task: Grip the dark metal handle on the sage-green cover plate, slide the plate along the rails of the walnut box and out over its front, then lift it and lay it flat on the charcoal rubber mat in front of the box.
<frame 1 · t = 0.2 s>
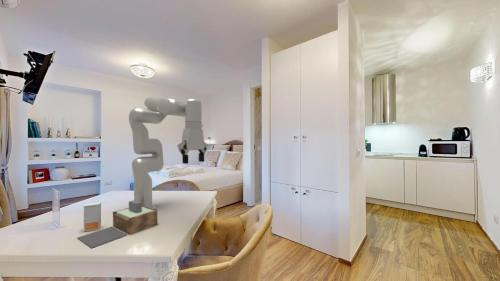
hand: (193, 162, 97), 31 cm above the table, tool pointing down, fingers open, 9 cm apart
skincare box: (92, 229, 97), on the table
walnut box: (135, 225, 101), on the table
rubber mat: (102, 236, 89), on the table
cover plate: (135, 213, 101), point 6 cm above the table, touching walnut box
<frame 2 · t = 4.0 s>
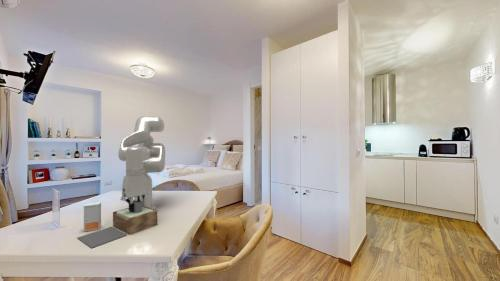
hand: (135, 210, 101), 7 cm above the table, tool pointing down, fingers closed on cover plate, 2 cm apart
cover plate: (135, 213, 101), point 6 cm above the table, touching gripper
everything else where it was.
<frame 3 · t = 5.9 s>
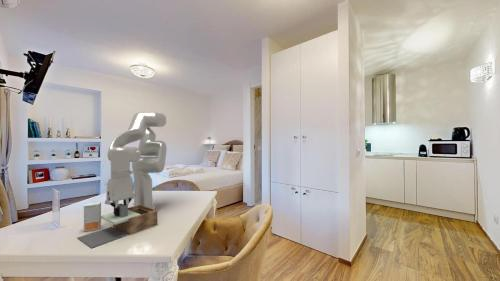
hand: (121, 214, 95), 7 cm above the table, tool pointing down, fingers closed on cover plate, 2 cm apart
cover plate: (121, 217, 95), point 6 cm above the table, touching gripper, walnut box
everything else where it was.
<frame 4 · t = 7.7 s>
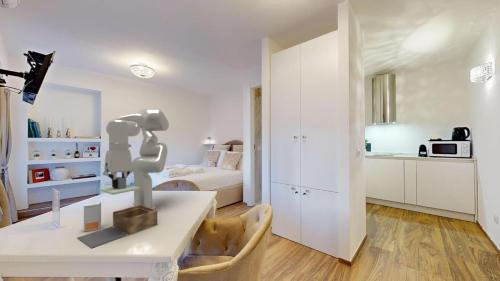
hand: (119, 187, 95), 20 cm above the table, tool pointing down, fingers closed on cover plate, 2 cm apart
cover plate: (119, 190, 95), point 19 cm above the table, touching gripper
everything else where it was.
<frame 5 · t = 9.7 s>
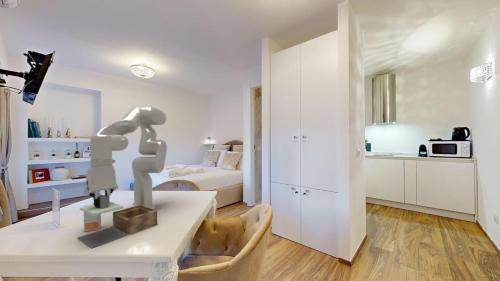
hand: (101, 205, 89), 13 cm above the table, tool pointing down, fingers closed on cover plate, 2 cm apart
cover plate: (101, 209, 89), point 12 cm above the table, touching gripper
everything else where it was.
when the fingers open (3 cm above the table, at t = 11.7 s): cover plate drops 2 cm, resting on rubber mat.
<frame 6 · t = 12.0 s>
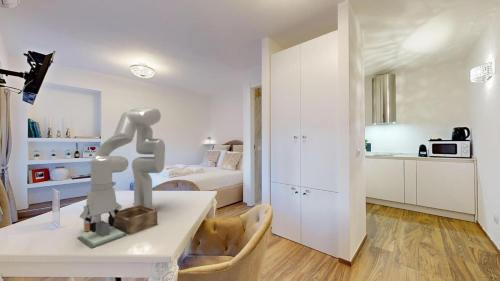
hand: (102, 228, 89), 4 cm above the table, tool pointing down, fingers open, 6 cm apart
cover plate: (102, 236, 89), resting on rubber mat
everything else where it was.
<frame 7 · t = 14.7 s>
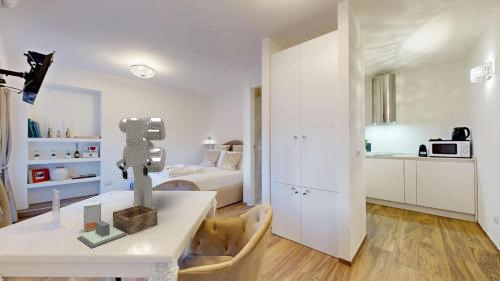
hand: (135, 177, 104), 23 cm above the table, tool pointing down, fingers open, 9 cm apart
nothing on the table moved.
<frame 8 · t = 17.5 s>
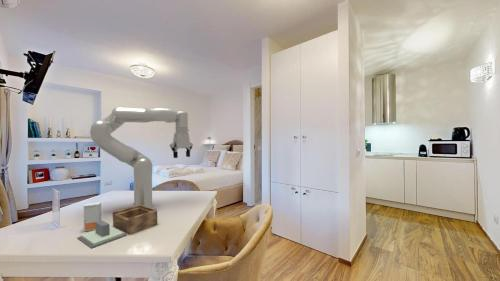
hand: (182, 157, 133), 30 cm above the table, tool pointing down, fingers open, 9 cm apart
nothing on the table moved.
at the end: cover plate inside the target area on the rubber mat (0.0 cm from its centre), point 0.4 cm above the rubber mat's base; cover plate tilted 0°; the gripper is holding nothing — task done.
